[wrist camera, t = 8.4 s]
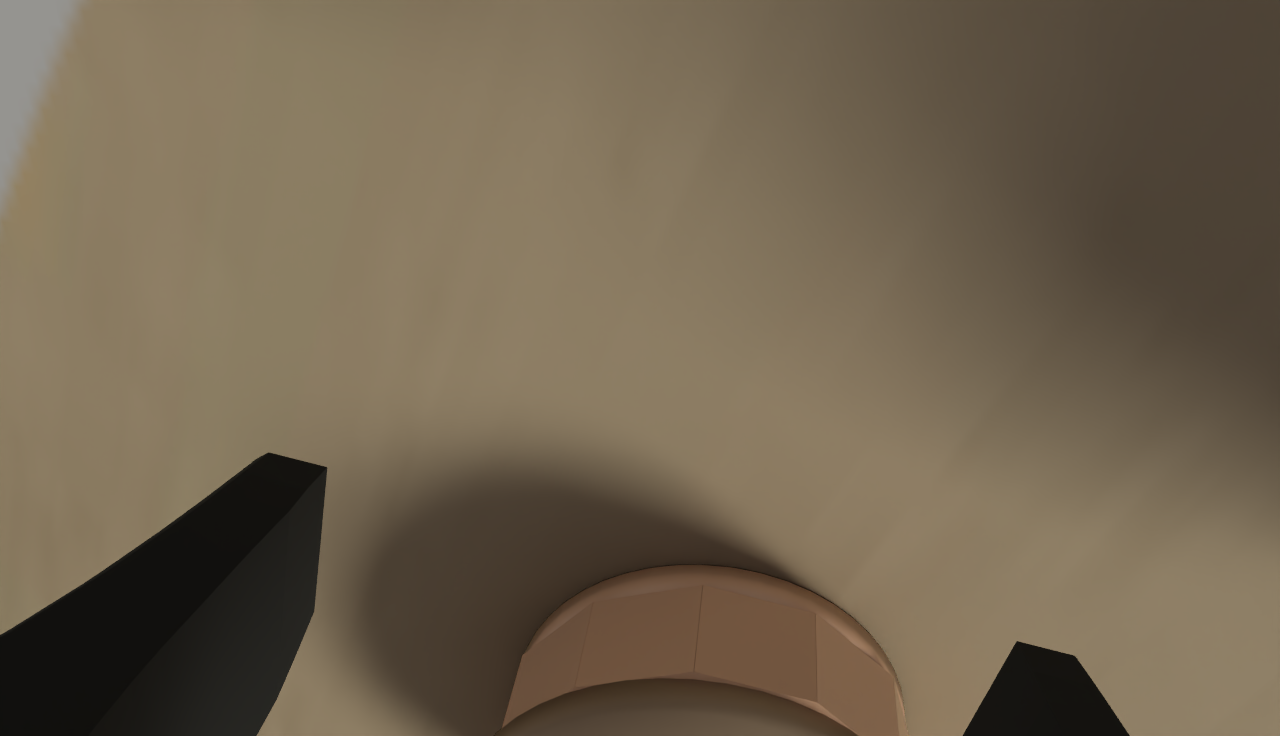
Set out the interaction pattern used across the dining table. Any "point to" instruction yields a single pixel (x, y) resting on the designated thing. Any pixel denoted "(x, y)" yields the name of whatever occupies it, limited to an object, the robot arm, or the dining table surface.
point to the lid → (671, 712)
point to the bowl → (714, 644)
